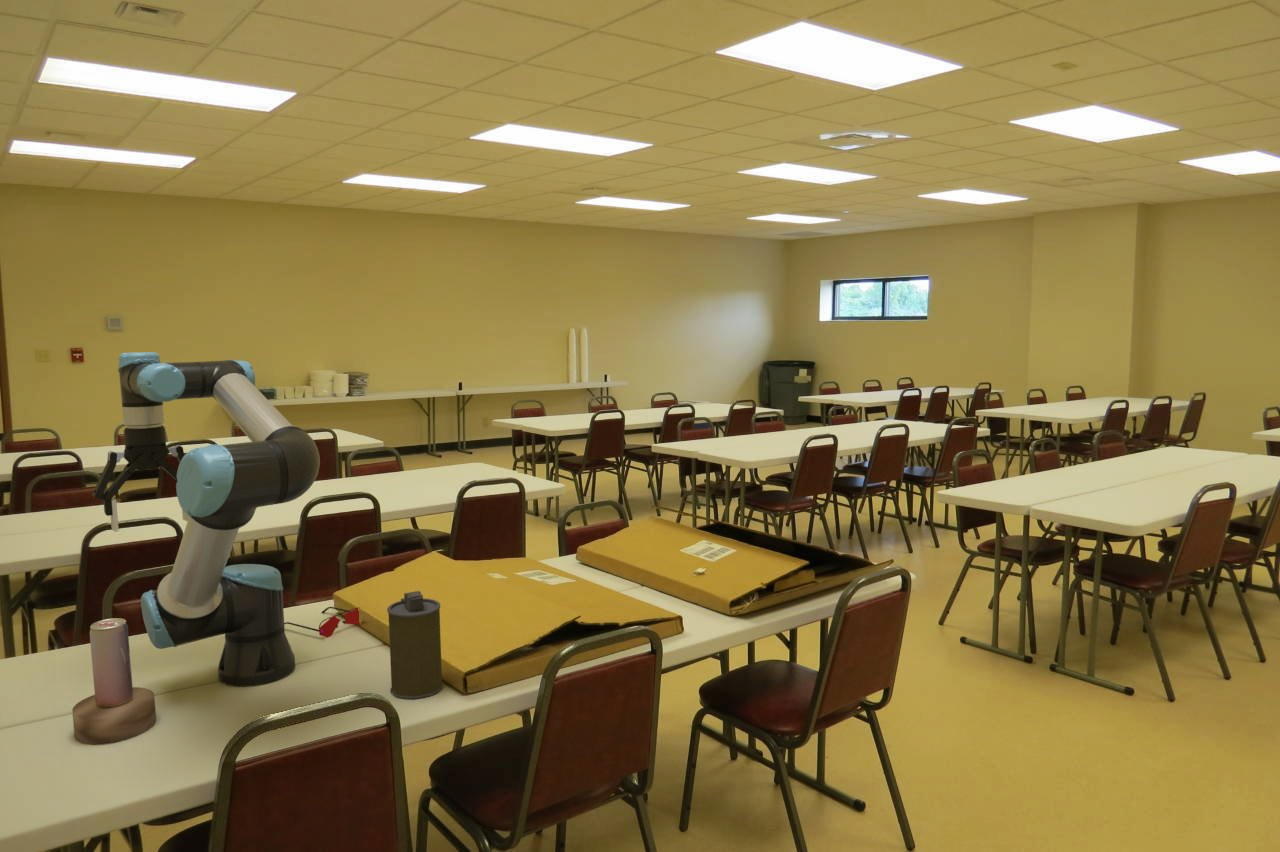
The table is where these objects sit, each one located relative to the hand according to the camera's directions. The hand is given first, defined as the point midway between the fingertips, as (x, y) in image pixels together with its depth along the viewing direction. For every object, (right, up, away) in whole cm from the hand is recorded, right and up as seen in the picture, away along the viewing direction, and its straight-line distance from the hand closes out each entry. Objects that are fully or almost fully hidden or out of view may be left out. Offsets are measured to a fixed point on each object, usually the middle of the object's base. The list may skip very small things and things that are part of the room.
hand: (151, 525), depth 186 cm
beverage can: (+7, -30, -24) cm, 39 cm away
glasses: (+25, -29, +30) cm, 49 cm away
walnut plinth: (+7, -35, -24) cm, 43 cm away
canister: (+58, -33, -7) cm, 67 cm away
